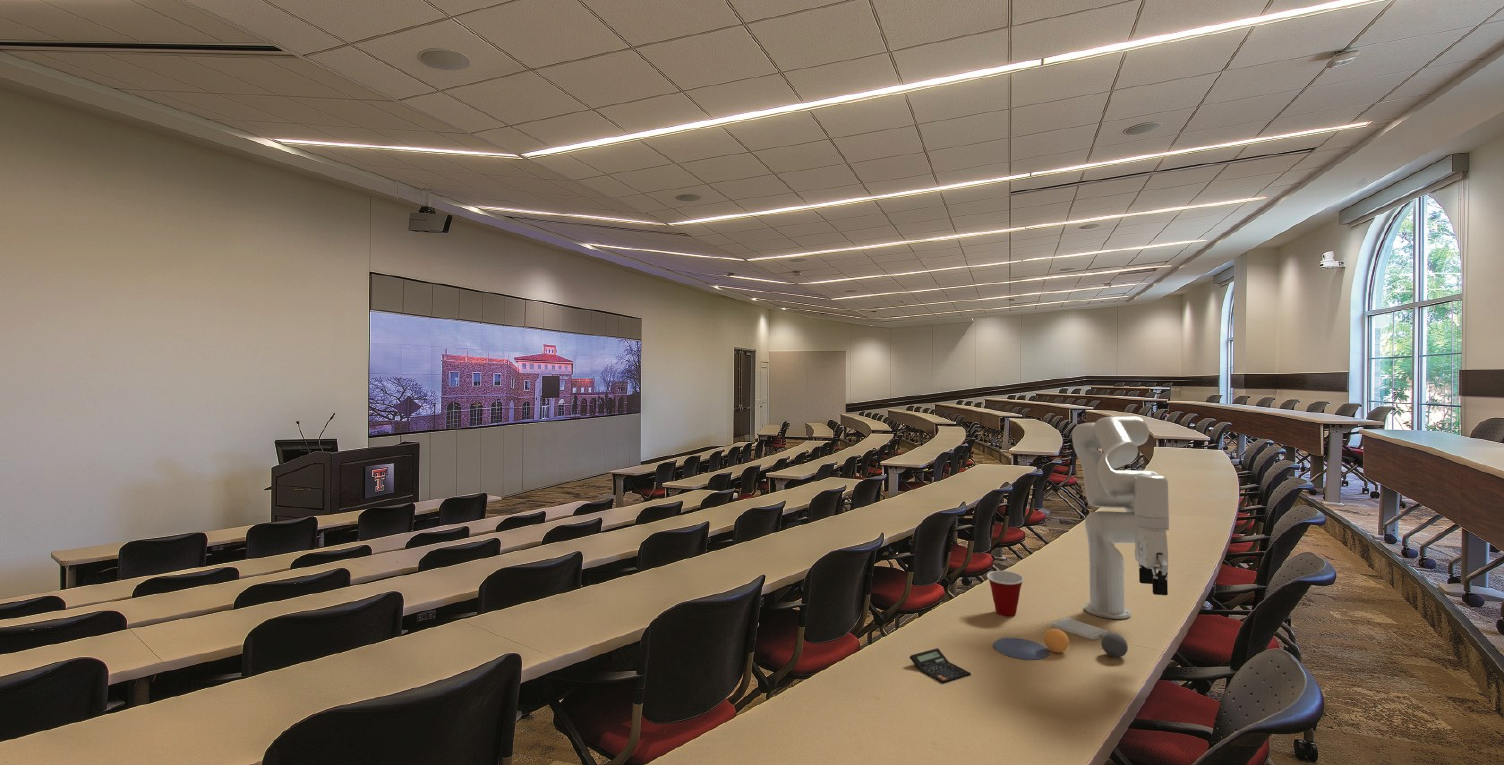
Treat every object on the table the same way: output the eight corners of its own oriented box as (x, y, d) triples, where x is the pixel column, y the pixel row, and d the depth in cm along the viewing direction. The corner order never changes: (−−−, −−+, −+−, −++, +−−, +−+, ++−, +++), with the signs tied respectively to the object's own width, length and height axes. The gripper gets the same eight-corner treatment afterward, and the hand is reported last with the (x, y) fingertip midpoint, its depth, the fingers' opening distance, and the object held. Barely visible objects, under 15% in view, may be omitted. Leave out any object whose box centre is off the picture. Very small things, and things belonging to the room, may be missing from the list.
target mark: (990, 636, 177) (990, 635, 177) (1043, 640, 174) (1043, 640, 174) (996, 657, 164) (996, 656, 164) (1054, 662, 160) (1054, 661, 160)
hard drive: (1051, 623, 185) (1093, 636, 174) (1067, 617, 189) (1108, 630, 179) (1051, 628, 185) (1093, 642, 174) (1067, 622, 189) (1108, 635, 179)
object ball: (1042, 646, 170) (1042, 624, 170) (1066, 648, 169) (1065, 626, 169) (1047, 655, 165) (1046, 632, 165) (1071, 657, 163) (1071, 634, 163)
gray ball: (1098, 651, 167) (1098, 628, 167) (1123, 653, 165) (1123, 630, 166) (1105, 660, 161) (1105, 637, 161) (1131, 662, 160) (1130, 639, 160)
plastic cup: (987, 617, 192) (986, 578, 192) (987, 606, 202) (987, 569, 202) (1025, 622, 188) (1024, 582, 188) (1024, 610, 198) (1023, 572, 198)
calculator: (942, 685, 150) (942, 672, 150) (909, 666, 160) (909, 654, 160) (970, 676, 154) (970, 664, 154) (936, 658, 164) (936, 647, 164)
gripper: (1124, 515, 171) (1125, 578, 171) (1147, 529, 154) (1149, 598, 154) (1155, 516, 169) (1156, 580, 169) (1182, 530, 152) (1183, 600, 152)
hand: (1153, 588), depth 161 cm, fingers open, 9 cm apart
